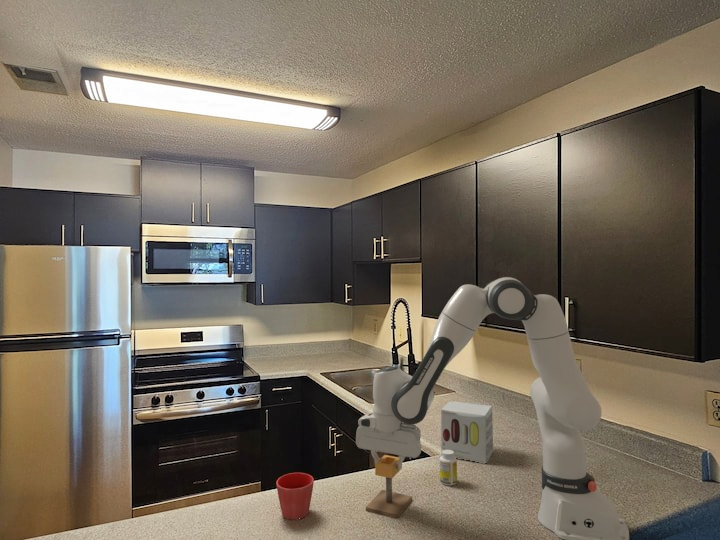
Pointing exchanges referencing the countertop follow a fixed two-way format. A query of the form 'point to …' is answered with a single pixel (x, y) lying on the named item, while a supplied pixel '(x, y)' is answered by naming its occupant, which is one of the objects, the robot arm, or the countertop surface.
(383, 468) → the orange hollow square block
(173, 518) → the countertop surface
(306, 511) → the flower pot
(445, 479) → the supplement bottle
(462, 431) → the supplement box
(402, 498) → the peg mounting plate
